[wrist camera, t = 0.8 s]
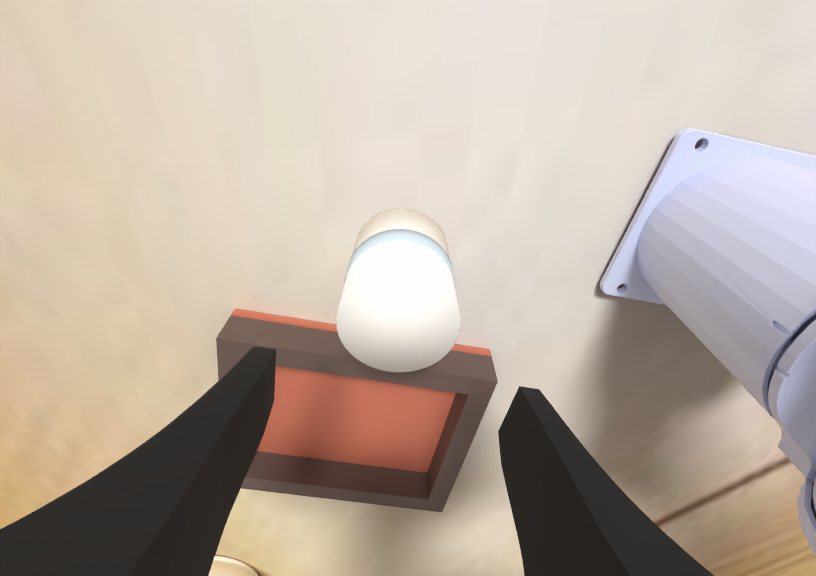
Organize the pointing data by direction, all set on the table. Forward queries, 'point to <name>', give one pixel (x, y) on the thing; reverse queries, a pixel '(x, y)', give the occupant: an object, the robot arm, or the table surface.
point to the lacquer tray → (359, 416)
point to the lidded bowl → (230, 567)
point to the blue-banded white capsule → (399, 294)
